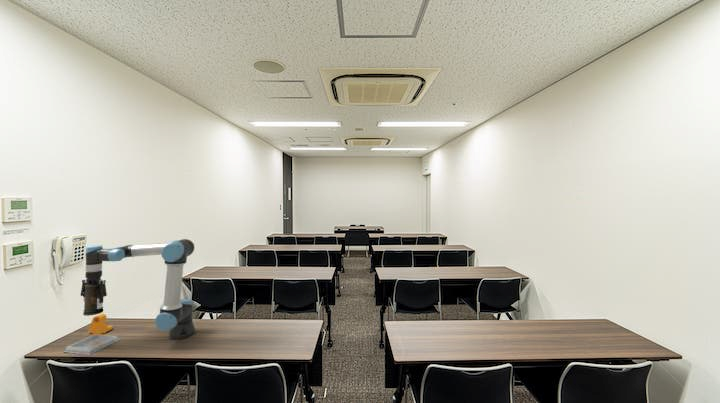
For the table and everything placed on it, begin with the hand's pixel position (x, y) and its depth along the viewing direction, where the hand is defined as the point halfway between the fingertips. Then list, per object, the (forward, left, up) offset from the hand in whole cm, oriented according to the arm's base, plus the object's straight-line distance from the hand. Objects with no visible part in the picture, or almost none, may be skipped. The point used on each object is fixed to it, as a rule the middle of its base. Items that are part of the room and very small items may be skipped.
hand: (93, 307), depth 178 cm
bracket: (+16, -18, -24) cm, 34 cm away
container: (0, 0, -3) cm, 3 cm away
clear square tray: (+1, 0, -24) cm, 24 cm away
